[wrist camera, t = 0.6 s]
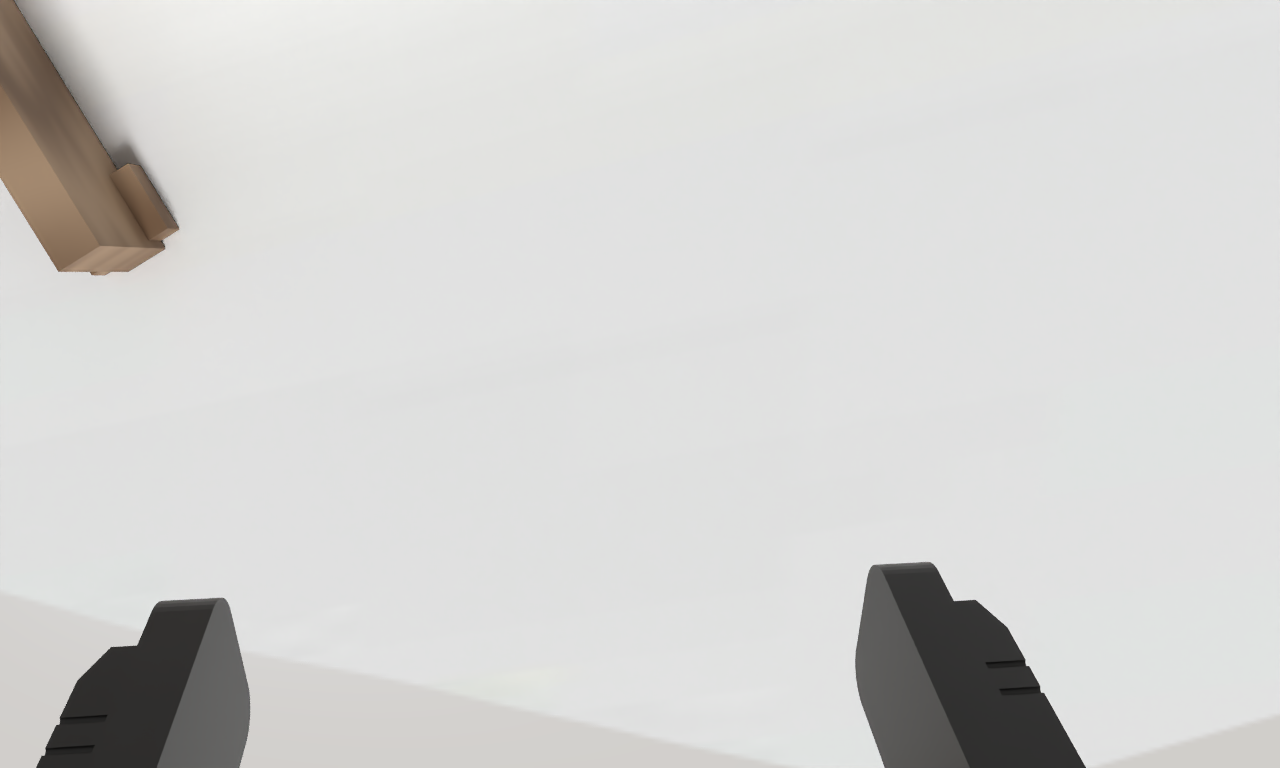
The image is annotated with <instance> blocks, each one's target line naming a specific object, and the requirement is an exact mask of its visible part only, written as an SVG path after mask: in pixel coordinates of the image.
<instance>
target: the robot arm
mask: <svg viewBox="0 0 1280 768" xmlns="http://www.w3.org/2000/svg"><path fill="white" fill-rule="evenodd" d="M855 667H856V679H857V686H858V691H859V696H860V700H861V703H862V706H863V708H864V711H865V714H866V717H867V719H868V722H869V725H870V728H871V731H872V733H873V736H874V739H875V742H876V744H877V747H878V750H879V753H880V755H881V758H882V761H883V764H884V766H885V768H1086V767H1085V765H1084V764H1083V762H1082V760H1081V758H1080V756H1079V755H1078V753H1077V751H1076V749H1075V747H1074V746H1073V744H1072V742H1071V740H1070V739H1069V737H1068V735H1067V733H1066V731H1065V730H1064V728H1063V726H1062V724H1061V722H1060V721H1059V719H1058V717H1057V715H1056V714H1055V712H1054V710H1053V708H1052V706H1051V705H1050V703H1049V701H1048V699H1047V697H1046V696H1045V694H1044V693H1041V691H1040V685H1039V683H1038V681H1037V680H1036V678H1035V676H1034V674H1033V672H1032V671H1031V669H1030V667H1029V666H1026V664H1025V658H1024V656H1023V655H1022V653H1021V651H1020V649H1019V648H1018V646H1017V644H1016V642H1015V640H1014V639H1013V637H1012V635H1011V633H1010V631H1009V630H1008V628H1007V627H1006V626H1005V625H1004V624H1003V623H1002V622H1000V621H999V620H998V619H997V618H996V617H995V616H993V615H992V614H991V613H990V612H989V611H988V610H987V609H985V608H984V607H983V606H982V605H981V604H980V603H978V602H977V601H976V600H968V601H953V599H952V597H951V595H950V593H949V591H948V589H947V587H946V585H945V583H944V581H943V579H942V578H941V576H940V574H939V572H938V570H937V568H936V567H935V566H934V565H933V564H932V563H930V562H920V563H901V564H883V565H873V566H872V567H871V569H870V570H869V573H868V578H867V584H866V590H865V597H864V603H863V609H862V616H861V622H860V629H859V635H858V642H857V648H856V659H855ZM249 720H250V696H249V688H248V683H247V679H246V674H245V671H244V666H243V662H242V657H241V653H240V649H239V644H238V640H237V636H236V632H235V627H234V623H233V619H232V614H231V611H230V607H229V605H228V602H227V601H226V600H225V599H224V598H209V599H190V600H171V601H160V602H158V603H157V604H156V605H155V607H154V608H153V610H152V612H151V615H150V617H149V619H148V622H147V624H146V626H145V629H144V631H143V633H142V636H141V638H140V640H139V643H138V645H137V646H124V647H111V648H110V649H109V650H108V651H107V652H106V653H105V654H104V655H103V656H102V657H101V658H100V659H99V660H98V661H97V662H96V663H95V664H94V665H93V666H92V667H91V668H90V669H89V670H88V671H87V672H86V673H85V674H84V675H83V676H82V677H81V678H80V679H79V680H78V681H77V683H76V685H75V687H74V689H73V691H72V693H71V695H70V697H69V700H68V702H67V704H66V706H65V708H64V710H63V712H62V714H61V716H60V724H59V725H56V727H55V729H54V731H53V733H52V736H51V738H50V740H49V742H48V744H47V746H46V753H45V756H42V757H41V759H40V761H39V763H38V765H37V767H36V768H239V766H240V763H241V759H242V755H243V751H244V748H245V744H246V741H247V736H248V730H249Z"/></svg>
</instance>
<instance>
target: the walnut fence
mask: <svg viewBox="0 0 1280 768" xmlns="http://www.w3.org/2000/svg"><path fill="white" fill-rule="evenodd" d="M0 178H1V180H2V181H3V183H4V185H5V186H6V188H7V189H8V191H9V193H10V194H11V196H12V197H13V199H14V201H15V202H16V204H17V205H18V207H19V209H20V210H21V212H22V214H23V215H24V217H25V218H26V220H27V222H28V223H29V225H30V226H31V228H32V230H33V231H34V233H35V234H36V236H37V238H38V239H39V241H40V243H41V244H42V246H43V247H44V249H45V251H46V252H47V254H48V255H49V257H50V259H51V260H52V262H53V263H54V265H55V267H56V268H57V270H58V272H90V273H91V275H106V274H108V273H110V272H129V271H130V270H132V269H134V268H135V267H137V266H138V265H140V264H142V263H143V262H145V261H146V260H148V259H150V258H151V257H153V256H155V255H156V254H158V253H159V252H161V251H163V250H164V249H165V247H164V245H163V244H162V242H161V240H163V239H165V238H166V237H168V236H169V235H171V234H173V233H174V232H176V231H177V230H179V228H178V226H177V225H176V223H175V221H174V220H173V218H172V216H171V215H170V213H169V212H168V210H167V208H166V207H165V205H164V203H163V202H162V200H161V198H160V197H159V195H158V194H157V192H156V190H155V189H154V187H153V185H152V184H151V182H150V180H149V179H148V177H147V176H146V174H145V172H144V171H143V169H142V167H141V166H139V165H134V164H126V165H125V166H123V167H122V168H120V169H118V170H117V169H116V167H115V165H114V164H113V162H112V161H111V159H110V157H109V156H108V154H107V152H106V151H105V149H104V147H103V146H102V144H101V143H100V141H99V139H98V138H97V136H96V134H95V133H94V131H93V130H92V128H91V126H90V125H89V123H88V121H87V120H86V118H85V116H84V115H83V113H82V112H81V110H80V108H79V107H78V105H77V103H76V102H75V100H74V98H73V97H72V95H71V94H70V92H69V90H68V89H67V87H66V85H65V84H64V82H63V81H62V79H61V77H60V76H59V74H58V72H57V71H56V69H55V67H54V66H53V64H52V63H51V61H50V59H49V58H48V56H47V54H46V53H45V51H44V49H43V48H42V46H41V45H40V43H39V41H38V40H37V38H36V36H35V35H34V33H33V32H32V30H31V28H30V27H29V25H28V23H27V22H26V20H25V18H24V17H23V15H22V14H21V12H20V10H19V9H18V7H17V5H16V4H15V2H14V0H0Z"/></svg>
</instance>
